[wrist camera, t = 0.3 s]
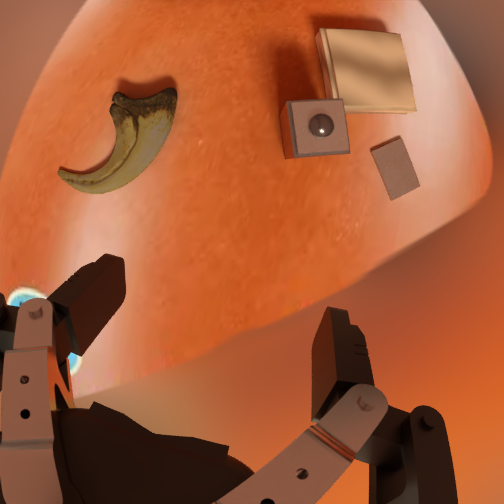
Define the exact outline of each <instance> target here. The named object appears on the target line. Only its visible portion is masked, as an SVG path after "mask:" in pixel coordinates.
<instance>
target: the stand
mask: <svg viewBox="0 0 504 504" xmlns="http://www.w3.org/2000/svg"><path fill="white" fill-rule="evenodd" d="M315 39H316V44H317V49H318V54H319V59H320V64H321V69H322V75H323V80H324V86H325V92H326V98H327V99H335V98H343V102H344V109H345V114H361V113H380V114H408V113H412V112H416V111H417V110H416V104H415V98H414V92H413V87H412V81H411V77H410V72H409V67H408V63H407V59H406V54H405V50H404V47H403V43H402V39H401V35H400V34H396V33H389V32H380V31H370V30H357V29H336V28H320V29H319V31H318V33H317V35H316V37H315Z"/></svg>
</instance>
